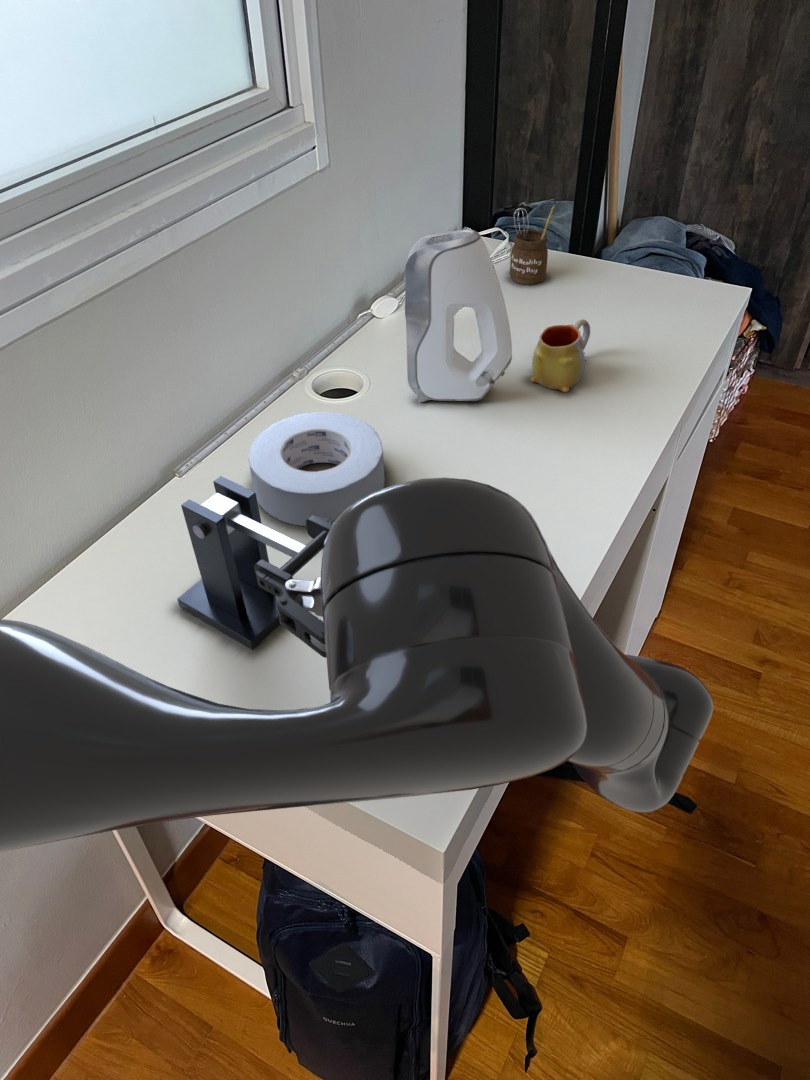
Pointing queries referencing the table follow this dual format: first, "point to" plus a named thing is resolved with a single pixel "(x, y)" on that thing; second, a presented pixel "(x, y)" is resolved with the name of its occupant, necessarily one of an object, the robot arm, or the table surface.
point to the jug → (430, 306)
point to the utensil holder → (529, 255)
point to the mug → (560, 356)
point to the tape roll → (310, 443)
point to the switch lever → (266, 533)
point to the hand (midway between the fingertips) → (284, 546)
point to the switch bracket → (229, 571)
